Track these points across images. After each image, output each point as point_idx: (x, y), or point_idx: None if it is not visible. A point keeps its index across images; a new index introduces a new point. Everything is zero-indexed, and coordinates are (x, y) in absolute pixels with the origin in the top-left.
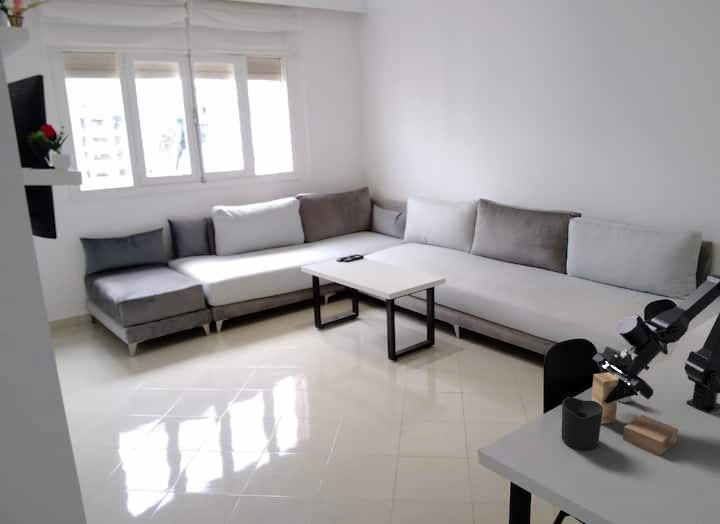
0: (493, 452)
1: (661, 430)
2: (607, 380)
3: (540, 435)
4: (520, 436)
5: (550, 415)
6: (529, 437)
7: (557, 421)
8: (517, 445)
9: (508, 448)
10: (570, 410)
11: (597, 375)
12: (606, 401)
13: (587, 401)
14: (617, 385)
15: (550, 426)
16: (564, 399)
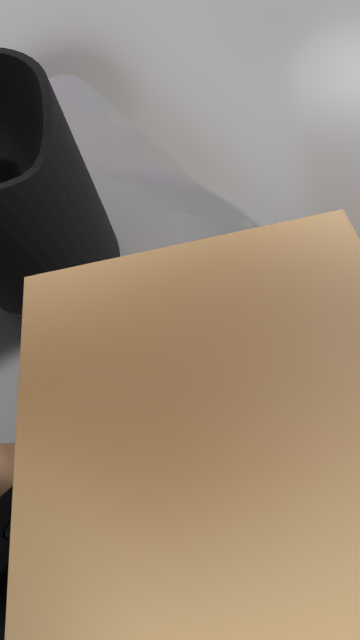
0: (65, 77)
1: None
2: (44, 358)
3: (117, 171)
4: (121, 127)
5: (245, 222)
6: (112, 145)
7: (199, 234)
8: (81, 118)
9: (73, 101)
10: (25, 137)
11: (290, 256)
12: None
13: (4, 183)
14: (7, 560)
15: (166, 206)
16: (30, 57)
